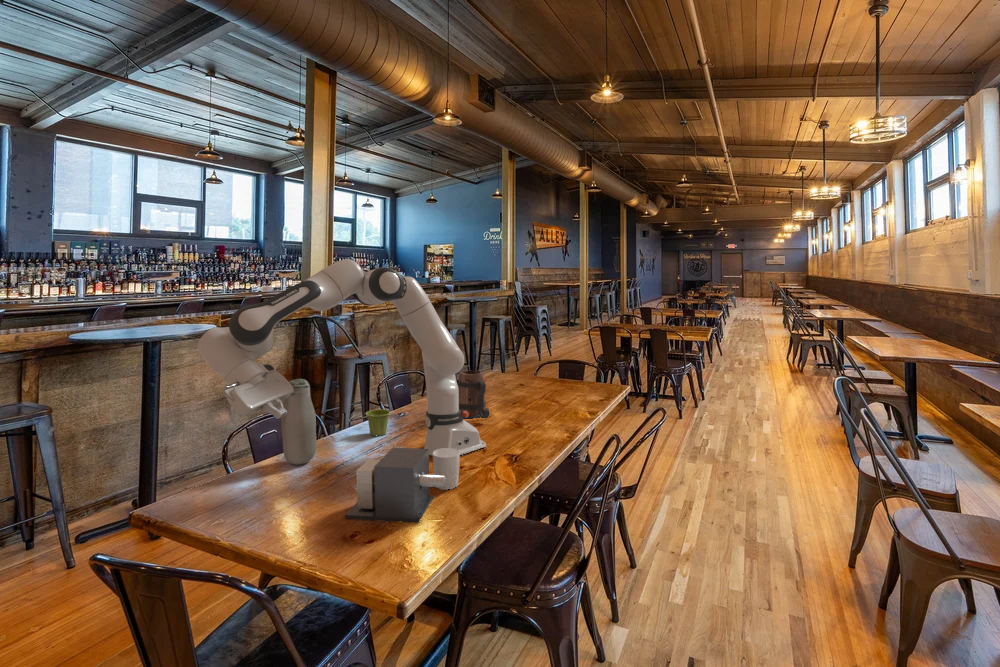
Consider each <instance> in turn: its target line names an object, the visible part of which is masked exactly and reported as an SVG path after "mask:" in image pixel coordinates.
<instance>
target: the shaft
mask: <svg viewBox="0 0 1000 667" xmlns="http://www.w3.org/2000/svg"><path fill="white" fill-rule="evenodd" d="M380 460H381V459H367V460H365V462H364V463H363V464H362V465H361V466H359V468H357V469H356V497H357V498H356V500H357V502H358V508H366V509H373V508H374V507H375V475H374V466H375V465H376V464H377V463H378V462H379V461H380ZM445 484H446V476H445V475H434V474H429V475H426V474H421V475H420V486H424V487H429V488H436V487H445ZM357 502H356V503H357Z"/></svg>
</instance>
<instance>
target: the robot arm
mask: <svg viewBox="0 0 1000 667" xmlns="http://www.w3.org/2000/svg"><path fill="white" fill-rule="evenodd" d="M350 296H352V297H353V298H355V300H356V301H358V302H359V303H361V304H362V305H364V306H377V305H378V306H379V305H382V304H386V303H387V302H390V303H392V305H394V306H395V308H396V310H397V312H398V313H399V316H400V318H402V320H403V323H404V324H405V327H406V328H407V330H408V331H409V333H410V335H411V336H412V338H413V339H414V341H415V342H416V344H417V345H418V346H419V348H420V349H421V356H422V362H423V364H422V365H423V372H424V377H425V380H424V381H425V385H426V407H427V409H426V411H425V413H426V414H425V423H426V424H425V426H426V435H425V436H426V437H425V443H424V447H423V449H429V456H432V457H433V454H432V453H433V452H434V451H435V450H438V449H442V448H453V449H457V450H459V451H460V455H462V456H464V455H463V454H466V453H469V452H471V451H474V450H477V449H480V448H483V447H486V448H487V443H486V442H485V441H484V440H482V439H481V437H480V434H479V431H478V429H477V428H476V427H475V426H474V425H472V424H471V423H469V422H467V421H465V420H464V419H463V417H465V418H467V417H468V416H469V413H468V412H466V411H461V410H459V389H458V385H457V377H456V374H457V373H459V372H461V371H462V370H463V367H464V365H465V356H464V353H463V352H462V350H461V348H460V347H459V345H458V344H457V342H456V341H455V339H454V337H453V336H452V334H451V333H450V332H449V330H448V329H447V327H446V326H445V325H444V323H443V321H442V319H440V316H439V315H438V312H437V311H436V309H435V307H434V305H433V303H432V301H431V300H430V298H429V297H428V295H427V293H426V291H425V290H424V289H423V287H422V286H421V284H419V282H418V281H417V280H416V279H415V278H414V277H412V276H402V275H401V274H400V273H399V272H398V271H397V270H395V269H393V268H392V267H388V266H382V267H377V268H375V269H371V270H368V271H365V270H363V269H362V267H361V266H360V265H359V264H358V262H356V261H355V260H353V259H351V258H350V259H349V258H345V259H341V260H339V261H336V262H334V263H331V264H330V265H328V266H325V267H324V268H322V269H321V270H320V271H317V272H316V273H314V274H313V275H311V276H309V277H308V278H306V279H304V280H303V281H300V282H298V283H297V284H294V285H292V286H291V287H288V288H286V289H285V290H283V291H281V292H278V294H275V295H273V296H272V297H270V298H267V299H266V300H263V301H261V302H259V303H253V304H250V305H245V306H242V307H240V308H238V309H237V310H235V311H234V312H233V314H231V316H230V318H229V320H228V326H224V327H218V326H214V327H211V328H209V329H208V330H206V331H205V332H204V333H203V334H202V335H201V336H200V338H199V339H198V342H197V347H196V348H197V351H198V353H199V356H201V358H202V359H203V360H204V362H206V364H207V365H208V366H209V368H211V369H212V371H215V373H218V375H220V376H221V378H222V380H223V382H224V383H225V384H226V385H225V386H224V387H223V389H222V393H223V395H224V396H225V397H226V400H227V402H228V403H229V405H230V406H231V407H232V408H233V410H234V411H235V412H236V414H237V415H239V416H240V417H243V418H246V417H249V416H250V415H252V414H255V413H257V412H259V411H262V410H264V411H265V413H268V414H270V415H272V416H274V417H275V419H277V420H278V419H280V418H281V417H283V416H285V415H286V414H287V411H286V410H285V409H284V404H283V401H285V399H286V398H288V397H289V396H290V395H291V394H292V393H293V391H294V390H293V387H292V385H291V384H290V383H289V382H290V381H288V379H287V378H286V377H285V376H283V374H281V373H280V372H278V371H277V368H276V366H275V365H273V364H270V363H269V364H267V363H260V362H256V361H255V360H257V359H259V358H260V357H262V356H264V355H265V354H268V352H270V351H272V348H273V346H274V344H275V335H274V328H275V327H276V325H277V324H279V323H280V322H281V321H282V320H284V319H285V318H287V317H289V316H290V315H292V314H293V313H296V312H297V311H299V310H301V309H303V308H310V309H312V310H313V311H316V312H326V311H328V310H330V309H332V308H334V307H336V306H338V305H339V304H340V303H342V302H343V301H345V300H346V299H347V298H349V297H350ZM469 454H470V453H469ZM466 455H467V454H466Z"/></svg>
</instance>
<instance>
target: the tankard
mask: <svg viewBox="0 0 1000 667" xmlns="http://www.w3.org/2000/svg"><path fill="white" fill-rule="evenodd" d="M458 373H459V374H458V380H456V382H457V385H458V389H459V410H461V411H466V412H468V413H469V416H468V417H467V418H465V417H463V419H473V418H480V417H481V418H488V416H489V415H490V410H489V408H487V407H486V405H487V404H486V400H485V399H486V397H485V395H486V389H487V388H486V385H487V384H486V381H485V380H484V379H485V378H484V375H483V371H482V370H461V371H459V372H458ZM488 419H489V418H488Z"/></svg>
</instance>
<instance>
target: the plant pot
mask: <svg viewBox="0 0 1000 667" xmlns="http://www.w3.org/2000/svg"><path fill="white" fill-rule="evenodd" d="M390 413H391V411H390V410H387V409H379V408H378V409H373V410H368V411H366V412H365V415H366V418H367V422H368V428H369V434H370V435H371V436H372V435H374V436H373V437H379V436H385V435H387V431H388V421H389V416H390ZM384 434H385V435H384ZM376 435H377V436H376ZM378 435H379V436H378Z"/></svg>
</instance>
